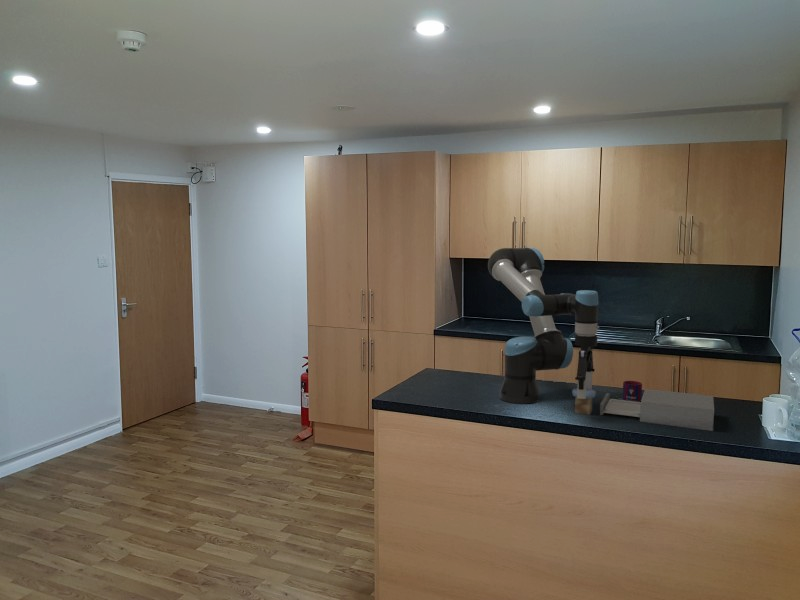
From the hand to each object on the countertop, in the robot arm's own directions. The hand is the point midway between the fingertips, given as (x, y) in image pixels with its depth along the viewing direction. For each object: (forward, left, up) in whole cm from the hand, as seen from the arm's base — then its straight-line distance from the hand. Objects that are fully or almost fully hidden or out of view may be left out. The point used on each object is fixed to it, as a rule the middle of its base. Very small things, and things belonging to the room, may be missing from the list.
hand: (584, 393), depth 214 cm
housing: (+30, +6, -7) cm, 31 cm away
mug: (+14, +25, -7) cm, 30 cm away
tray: (+14, +6, -6) cm, 17 cm away
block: (0, 0, -7) cm, 7 cm away
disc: (0, 0, -1) cm, 1 cm away
